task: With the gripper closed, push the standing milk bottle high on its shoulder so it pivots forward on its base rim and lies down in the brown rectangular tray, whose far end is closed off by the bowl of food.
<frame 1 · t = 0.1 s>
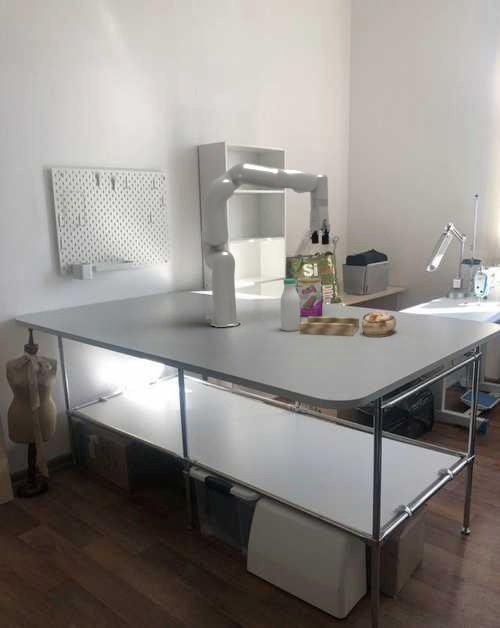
hand: (320, 244, 234), 31 cm above the table, tool pointing down, fingers open, 9 cm apart
bowl of food: (378, 333, 199), on the table
brown rectangular tray: (329, 330, 206), on the table
milk bottle: (291, 329, 211), on the table
candy bar box: (310, 316, 238), on the table
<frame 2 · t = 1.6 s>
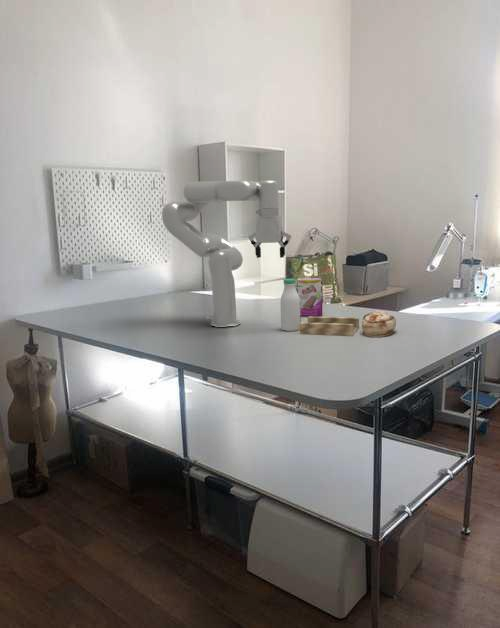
hand: (270, 257, 211), 28 cm above the table, tool pointing down, fingers open, 9 cm apart
nothing on the table moved.
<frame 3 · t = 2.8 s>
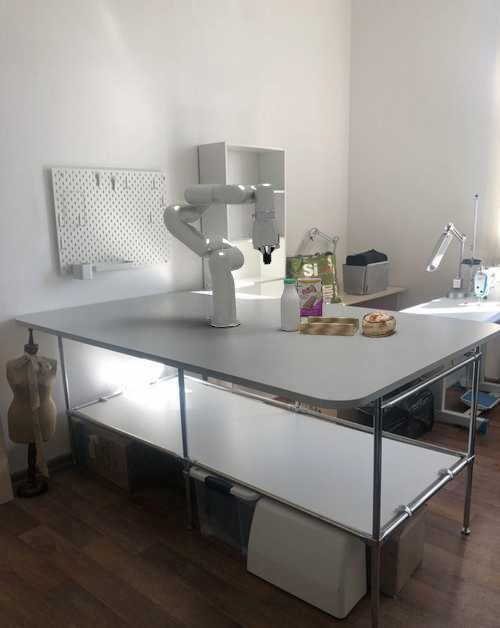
hand: (267, 264, 210), 26 cm above the table, tool pointing down, fingers closed
nothing on the table moved.
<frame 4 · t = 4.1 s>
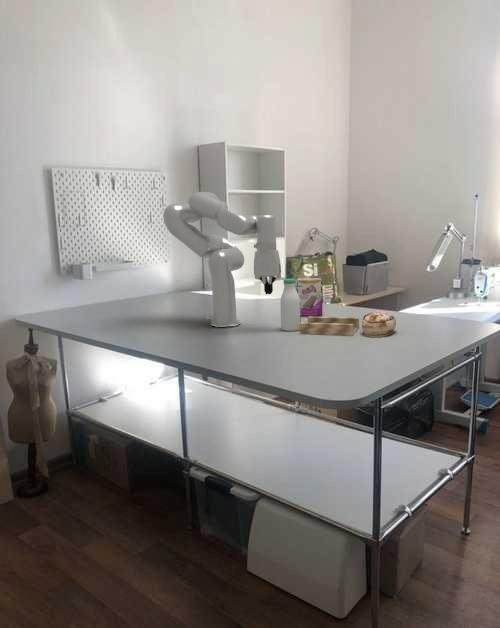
hand: (268, 293, 212), 14 cm above the table, tool pointing down, fingers closed
nothing on the table moved.
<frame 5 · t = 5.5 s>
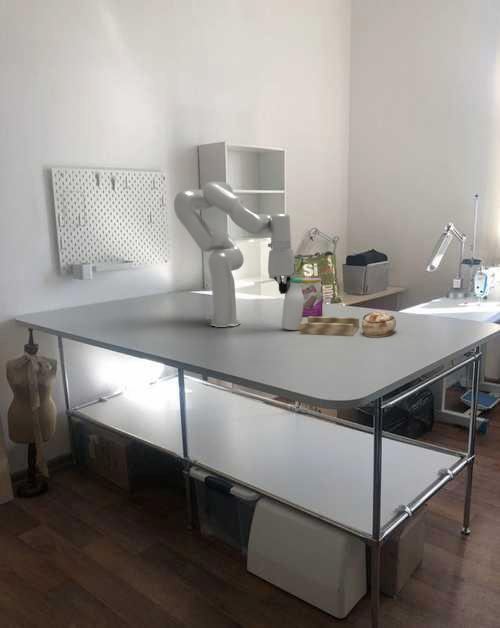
hand: (283, 293, 210), 14 cm above the table, tool pointing down, fingers closed
milk bottle: (291, 328, 211), on the table, touching gripper
everything else where it was.
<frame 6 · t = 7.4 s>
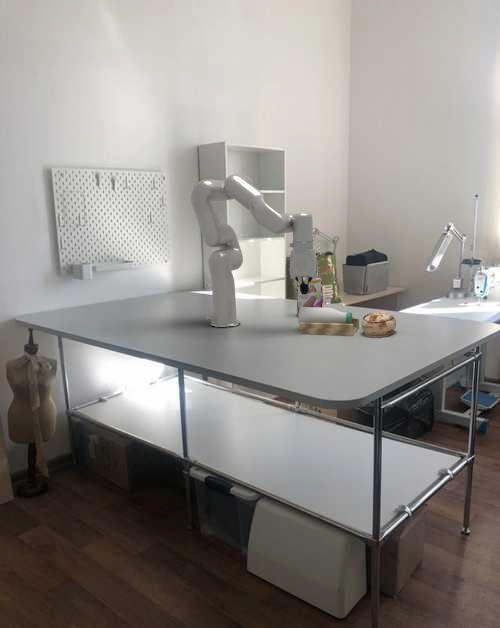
hand: (304, 294, 207), 14 cm above the table, tool pointing down, fingers closed
milk bottle: (299, 316, 210), point 5 cm above the table, touching brown rectangular tray
everything else where it was.
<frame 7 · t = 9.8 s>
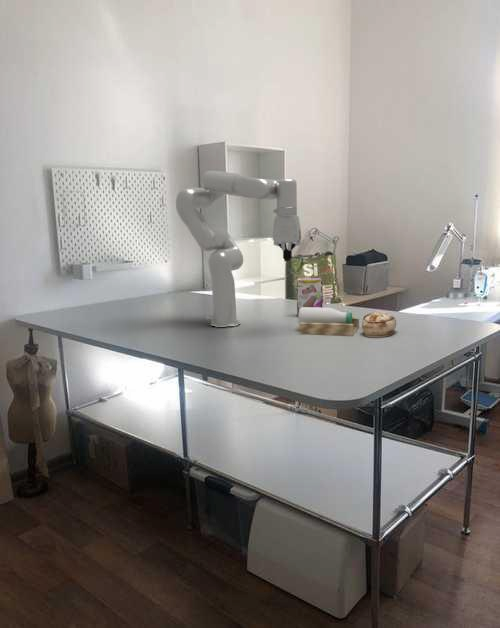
hand: (287, 260, 207), 27 cm above the table, tool pointing down, fingers closed
nothing on the table moved.
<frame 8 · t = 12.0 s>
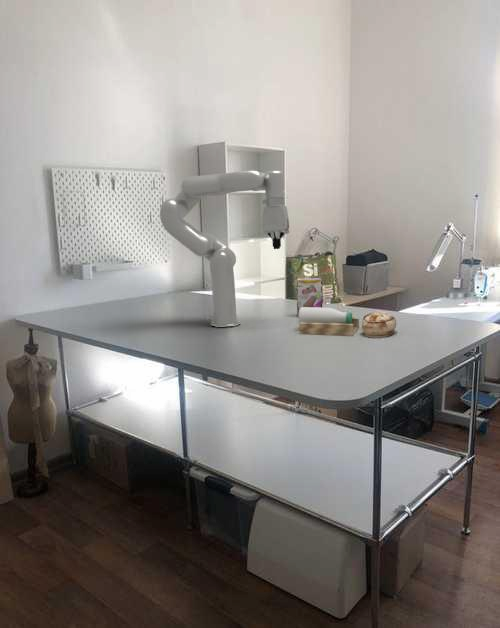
hand: (276, 248, 218), 31 cm above the table, tool pointing down, fingers closed
at the end: milk bottle tilted 90°; milk bottle touching brown rectangular tray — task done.
